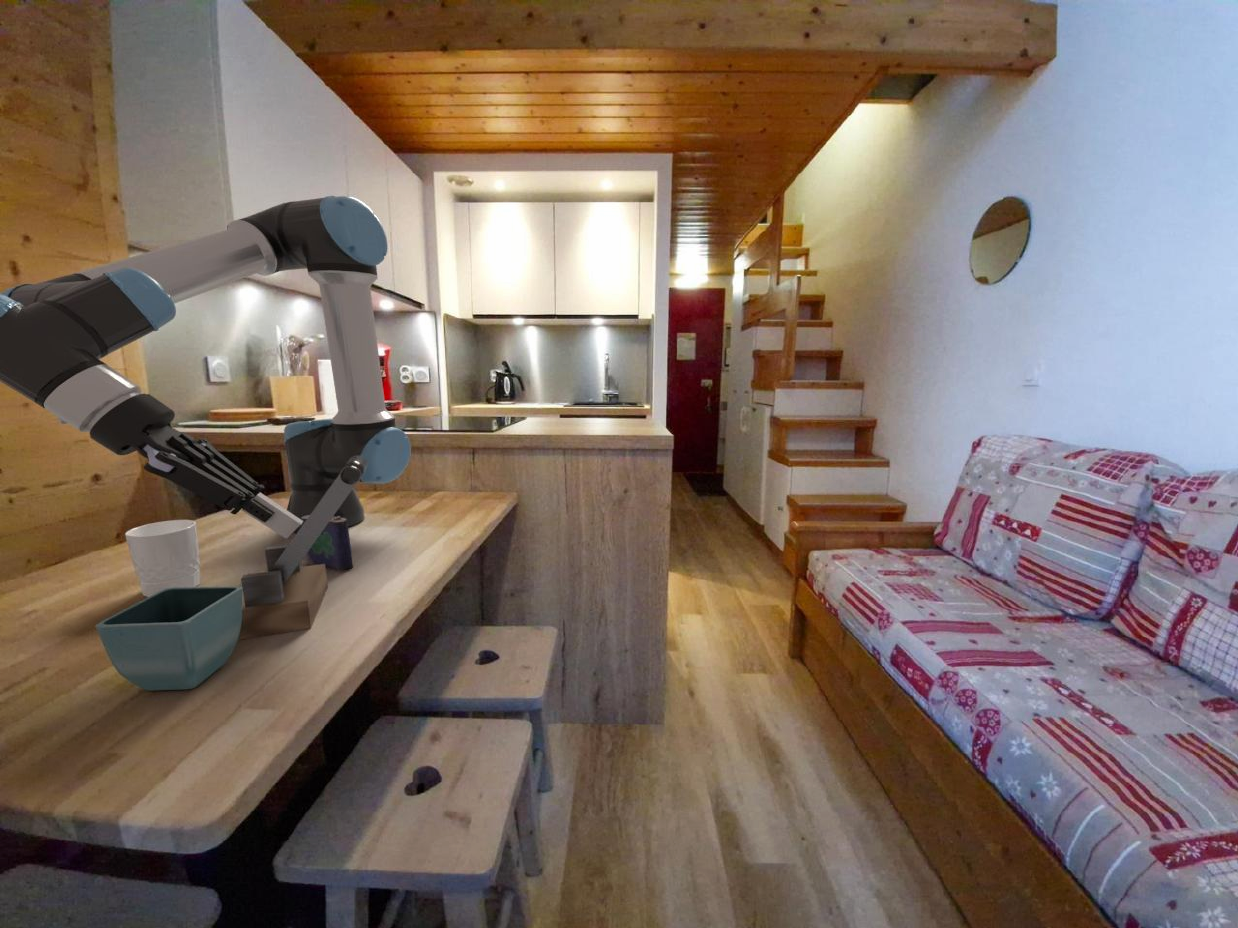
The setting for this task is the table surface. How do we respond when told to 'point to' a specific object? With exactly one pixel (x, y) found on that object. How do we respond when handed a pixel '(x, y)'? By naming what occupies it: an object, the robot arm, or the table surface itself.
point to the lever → (320, 516)
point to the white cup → (165, 555)
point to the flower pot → (174, 636)
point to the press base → (280, 598)
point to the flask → (331, 546)
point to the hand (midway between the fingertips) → (294, 529)
